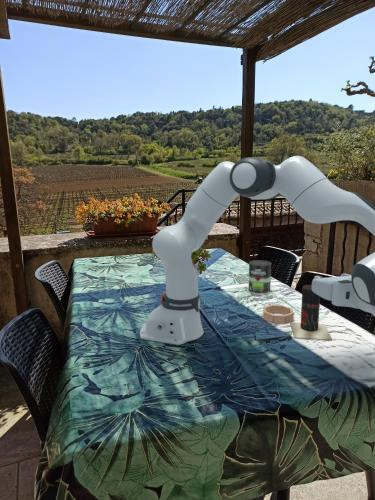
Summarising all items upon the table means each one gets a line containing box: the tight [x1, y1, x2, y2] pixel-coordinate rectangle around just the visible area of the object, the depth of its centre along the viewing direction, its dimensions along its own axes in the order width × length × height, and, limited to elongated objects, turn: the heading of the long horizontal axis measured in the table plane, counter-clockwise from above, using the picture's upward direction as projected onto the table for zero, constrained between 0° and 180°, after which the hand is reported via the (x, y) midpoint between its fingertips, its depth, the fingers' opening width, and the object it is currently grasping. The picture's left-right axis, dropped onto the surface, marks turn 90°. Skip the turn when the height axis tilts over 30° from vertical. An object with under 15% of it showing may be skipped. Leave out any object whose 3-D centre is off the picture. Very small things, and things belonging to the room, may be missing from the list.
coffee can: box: [248, 259, 272, 296], centre depth 160 cm, size 10×10×14 cm
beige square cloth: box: [289, 321, 333, 341], centre depth 119 cm, size 12×12×1 cm
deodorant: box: [300, 284, 321, 332], centre depth 119 cm, size 6×6×15 cm
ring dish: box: [262, 304, 295, 325], centre depth 131 cm, size 11×11×3 cm
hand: (329, 277), depth 105 cm, fingers open, 8 cm apart
